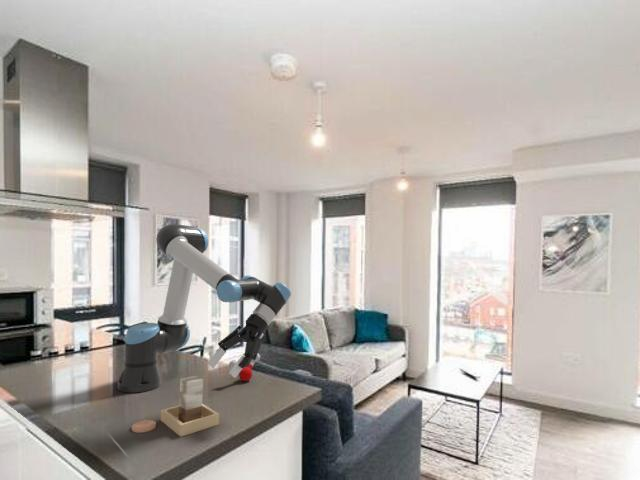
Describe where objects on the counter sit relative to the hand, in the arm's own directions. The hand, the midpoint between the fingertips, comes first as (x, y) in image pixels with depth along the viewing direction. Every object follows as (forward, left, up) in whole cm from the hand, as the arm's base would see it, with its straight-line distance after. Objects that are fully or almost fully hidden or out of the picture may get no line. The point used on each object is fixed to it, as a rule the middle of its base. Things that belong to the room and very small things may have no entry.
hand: (220, 370), depth 121 cm
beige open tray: (-7, -7, -14) cm, 17 cm away
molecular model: (-2, +35, -15) cm, 38 cm away
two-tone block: (-7, -7, -14) cm, 17 cm away
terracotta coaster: (-18, -13, -14) cm, 26 cm away
